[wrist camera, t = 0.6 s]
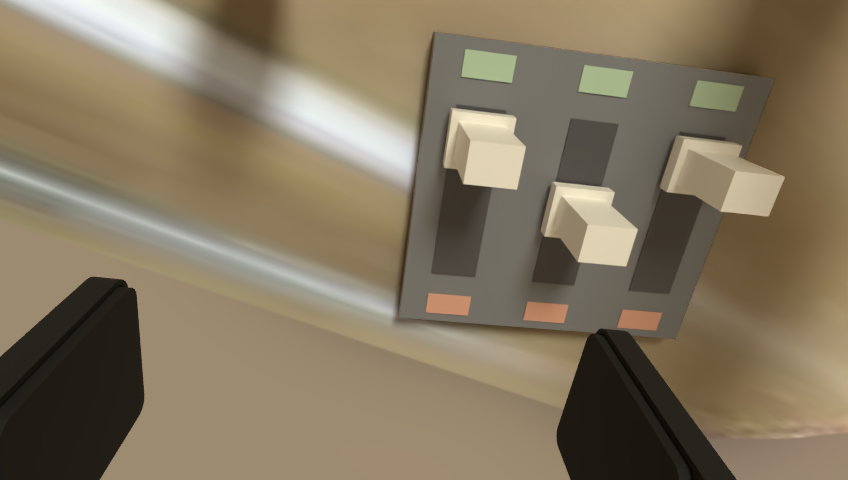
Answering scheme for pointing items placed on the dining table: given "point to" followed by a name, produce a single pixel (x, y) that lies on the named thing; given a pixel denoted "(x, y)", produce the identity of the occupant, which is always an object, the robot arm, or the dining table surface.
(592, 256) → the breaker mid
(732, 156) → the breaker far
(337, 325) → the dining table surface
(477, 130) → the breaker near
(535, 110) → the console
